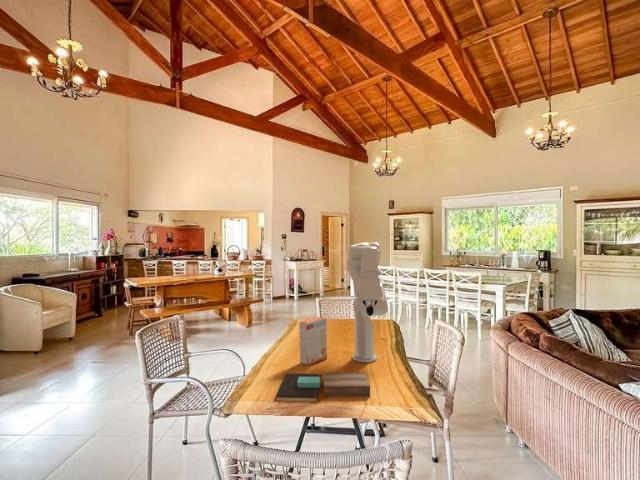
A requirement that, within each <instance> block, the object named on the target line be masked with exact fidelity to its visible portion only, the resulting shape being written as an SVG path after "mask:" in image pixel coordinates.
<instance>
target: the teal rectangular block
mask: <svg viewBox="0 0 640 480" xmlns="http://www.w3.org/2000/svg"><path fill="white" fill-rule="evenodd" d="M320 386H321V382H320V377H299V378H298V382H297V387H308V388H319V389H320V388H321V387H320Z"/></svg>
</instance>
